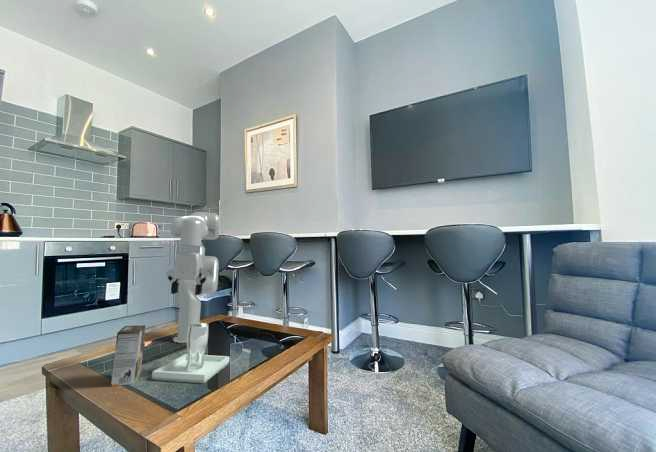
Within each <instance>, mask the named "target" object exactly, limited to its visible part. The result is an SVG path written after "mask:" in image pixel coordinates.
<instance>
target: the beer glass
mask: <svg viewBox="0 0 656 452" xmlns="http://www.w3.org/2000/svg"><path fill="white" fill-rule="evenodd" d="M208 339H209V323H206V322H199V323H194V324H190V325H189V327H188V333H187V343H186V350H187V352H186V354H188V360H187V364H186V368H185V370H186V371H189V372H195V371H199V370H202V369H203V368H204V355H205V352H206V349H207V345H208V341H209V340H208Z"/></svg>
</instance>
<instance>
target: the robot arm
mask: <svg viewBox="0 0 656 452" xmlns="http://www.w3.org/2000/svg"><path fill="white" fill-rule="evenodd" d="M220 222H221V220H220V217H219V215H218V214H217V213H215V212H207V211H206V212H205V211H194V212H192V213H191V214H190V215H185V216H178V217H175V218H174V219H173V221H172V222H171V225H170V229H169V231H170V234H171V236H172V237H174V238H177V239H178V238H179V239H180V240H179V246H177V247H176V251H178V252H177V253H176V256H175V258H174V262H173V267H172V268H171V269H169V270H167V271H166V272H165V273H166V275H167V279H168V280H169V282H170V284H171V288H170V291H171V292H170V294H173V295H174V294H178V293H179V292H180V297H179V298H180V301H179V312H178V321H177V323H178V324H177V332H176V333H177V334H176V336H177V337H176V336H174V337H173V338H172V342H174V343H176V342H177V344H187V333H188V327H189V325H190V324H194V323H201V322H200V319H201V310H202V308H201V307H202V302H201V299H200V298H199V295H206V294H208V295H209V294H215V293H216V292H217V290H218V284H219V270H220V269H219V266H220V265H219V263H220V262H219V259H218V258H217V257H216V256H215V255H214V256H212V255H211V256H210V255H205V254H206V248H205V246H204V244H203V243H202V240H209V241H211V240H217V239H218V238H219V234H220V226H221V225H220ZM179 290H180V291H179Z"/></svg>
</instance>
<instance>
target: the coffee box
mask: <svg viewBox="0 0 656 452" xmlns="http://www.w3.org/2000/svg"><path fill="white" fill-rule="evenodd" d="M146 327H147V326H146V325H125V326H123V327H122V328H121V329H120V330H119V331H118V332H117V333H116V341H115V348H114V358H113V364H112V365H113V366H112V371H111V372H112V374H111V382H110V385H111V384H119V386H124V385H125V386H126V385H134V384H135V383H136V381H137V380H138V378H139V377H140V375H141V373H142V366H143V365H142V364H143V354H144V346H145V345H144V344H145V335H146V334H145V333H146Z"/></svg>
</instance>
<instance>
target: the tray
mask: <svg viewBox="0 0 656 452" xmlns="http://www.w3.org/2000/svg"><path fill="white" fill-rule="evenodd" d="M187 360H188V354H187V353H185V354H183V355H181V356H179V357H178V358H177V357H176V358H175V359H173V360H172V361H170V362H167V363H165V364H164V365H162V366H160V367H159V368H156V369H155V370H152V371H151V372H152V373H151V381H163V382H178V383H193V384H194V383H195V384H206V383H207V382H208V381H209V380H211V378H213V377H214V376H215V375H216V374H217V373H219V372H220V371H221V370H223V369H224V368H225V367H226V366H228V365H229V364H230V356H227V355H212V354H211V355H208V354H204V368H203V369H202V370H199V371H195V372H189V371H186V370H185V368H186V364H187Z"/></svg>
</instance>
